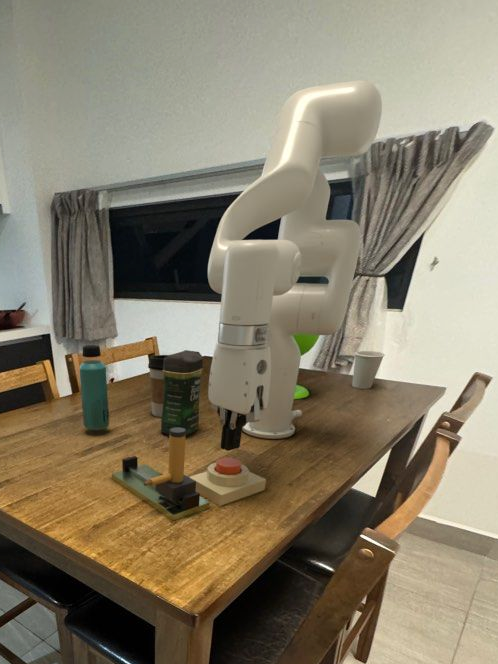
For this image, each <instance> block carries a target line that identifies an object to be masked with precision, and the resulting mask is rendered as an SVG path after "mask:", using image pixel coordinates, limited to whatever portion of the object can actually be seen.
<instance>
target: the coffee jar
mask: <svg viewBox="0 0 498 664" xmlns="http://www.w3.org/2000/svg"><path fill="white" fill-rule="evenodd" d="M167 355H168V356H167V357H165V358H164V364H163V375H164V395H163V409H162V417H161V419H160V420H161V421H160V431H161V432H162V433H164V434H166V435H167V436H169V437H170V429H171V428H175V427H180V428H184V429H185V430H186V436H189V435H191V434H193V433H195V432H196V431H197V430H198V429H199V425H200V423H199V421H200V393H201V392H200V390H201V389H200V388H201V379H202V374H203V365H204V362H203V361H204V357H203V355H202V354H201V353H200V352H199V351H197V350H196V351H195V350H188V349H185V350H183V351H179V352H176V353H171V354H167Z"/></svg>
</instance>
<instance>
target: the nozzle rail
mask: <svg viewBox="0 0 498 664" xmlns="http://www.w3.org/2000/svg"><path fill="white" fill-rule="evenodd" d="M138 459H139V458H138V457H137V456H136V455H132V456H130V457H126V458H122V459H121V464H122V466H121V467H122V470H119V471H115V472H112V473H111V479H112V480H113V481H115V483H117V484H118V485H120V486H121V487H123V488H124V489H126V490H127V491H129V492H130V493H132V494H133V495H134V496H136V497H137V498H139V499H141V500H142V501H143V502H145V503H146V504H147V505H149V506H150V507H152V508H154V509H155V510H156V511H157V512H159V513H160V514H162V515H164V517H166V518H168V519H169V520H171V521H172V522H175V521H177V520H181V519H183V518H187V517H188V516H192V515H195V514H197V513H200V512H202V511H205V510H208V509H210V508H211V501H210V500H208V499H207V498H206V499H205V497H203V496H201V494H200V493H198V492H193V493H190V494H187V495H184V496H182V498H181V499H178V504H174V503H173V502H171V501H170V500H168V499H167V498H165V497H164V496H162V495H160V494H159V492H157V491H156V485H153V486H150V485H148V486H144V482H146V481H149V479H151V478H154V477H158V476H161V475H164V474H163V473H161V472H159V471H158V470H156V469H154V468H153V467H151V466H149V465H148V464H146V463H144V464H141V465H138V464H139V463H138V462H139V460H138Z"/></svg>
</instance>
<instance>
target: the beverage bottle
mask: <svg viewBox="0 0 498 664" xmlns="http://www.w3.org/2000/svg"><path fill="white" fill-rule="evenodd" d="M101 356H102V354H101V347H100V346H99V345H96V344H89V345H83V346H82V357H83V358H97V357H101ZM78 370H79V380H80V391H81V393H80V394H81V405H82V406H81V407H82V420H83V425H84V428H86V429H88V430H92V431H99V430H104V429H107V428H108V427H109V425H110V414H109V395H108V383H107V366H106V364H105V363H104V362H103V361H101V360H98V359H90V360H83V362H82V363H81V364H80V365H79V368H78Z"/></svg>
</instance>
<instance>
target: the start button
mask: <svg viewBox="0 0 498 664" xmlns="http://www.w3.org/2000/svg"><path fill="white" fill-rule="evenodd" d="M216 462H217V463H216ZM216 462H215V463H216V472H218V473H220V474H224V475H236V474H239V473H240V469H241V464H242V462H241V460H240V459H237V458H233V457H221V458H218V459H217V460H216Z"/></svg>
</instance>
